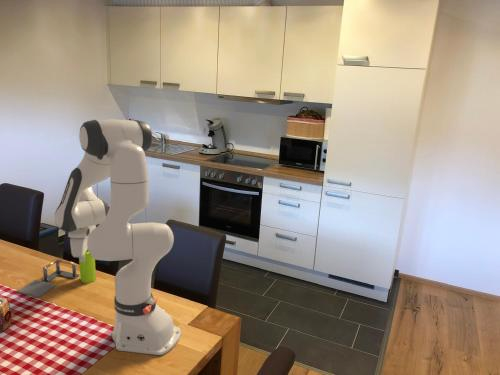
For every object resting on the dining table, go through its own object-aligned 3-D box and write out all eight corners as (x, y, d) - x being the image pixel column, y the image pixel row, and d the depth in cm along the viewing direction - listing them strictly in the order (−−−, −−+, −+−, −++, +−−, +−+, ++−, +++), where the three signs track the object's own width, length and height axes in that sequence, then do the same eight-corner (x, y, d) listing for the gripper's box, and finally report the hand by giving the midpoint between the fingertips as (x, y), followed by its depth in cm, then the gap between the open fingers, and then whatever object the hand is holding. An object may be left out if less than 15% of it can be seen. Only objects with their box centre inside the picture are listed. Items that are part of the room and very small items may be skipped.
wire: (79, 275, 173) (78, 261, 171) (63, 286, 164) (62, 271, 162) (58, 271, 175) (56, 257, 173) (41, 281, 167) (40, 266, 165)
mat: (55, 286, 164) (55, 284, 164) (38, 297, 156) (38, 296, 156) (35, 281, 167) (34, 279, 167) (17, 292, 158) (16, 290, 158)
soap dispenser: (75, 279, 170) (72, 234, 163) (92, 274, 174) (89, 230, 168) (81, 285, 166) (77, 239, 159) (98, 280, 170) (95, 235, 164)
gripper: (83, 215, 172) (85, 245, 177) (66, 235, 153) (69, 269, 157) (98, 215, 173) (100, 246, 177) (84, 235, 154) (86, 269, 158)
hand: (85, 257), depth 167 cm, fingers closed on soap dispenser, 6 cm apart
